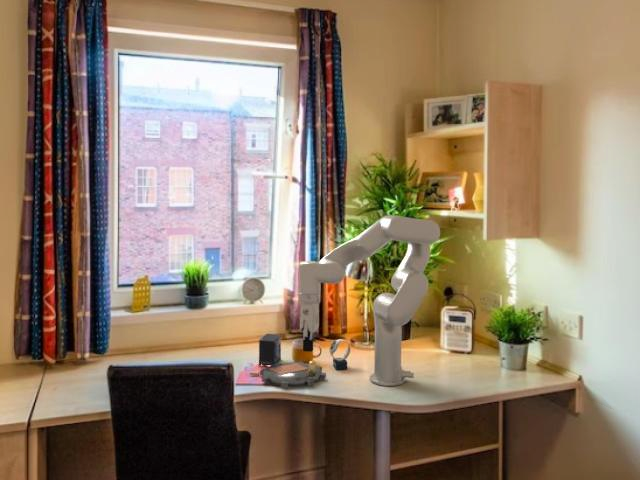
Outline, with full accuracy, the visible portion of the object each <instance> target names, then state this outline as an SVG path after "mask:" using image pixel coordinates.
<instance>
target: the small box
mask: <svg viewBox="0 0 640 480" xmlns="http://www.w3.org/2000/svg"><path fill="white" fill-rule="evenodd" d="M258 342H259V343H258V366H259V365H261V364H262V365H271V366H272V365H273V364H276V363H280V361H281V359H282V356H281V355H282V352H281V351H282V335H281V334H276V333H274V334H273V333H266V334H265V335H263V336H262V337H261V338H260V339H258Z"/></svg>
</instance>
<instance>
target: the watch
mask: <svg viewBox="0 0 640 480" xmlns="http://www.w3.org/2000/svg"><path fill="white" fill-rule="evenodd" d="M342 342H343V343H346V344H347V345H348V346H347V349H346V352H345V353H344V355H343V357H335V356H334V354H335V352H336V351H337V350H338V348H339V344H341V343H342ZM328 350H329V351H328V352H329V354H330V356H331V357H332V367H333V369H334V370H335V371H346V370H348V361H347V358H349V356H350V354H351V346H350V344H349V342H348V341H347V340H345V339H344V338H343V339H342V338H339V339H335V340H334V341H332V342H331V345H330V347H329V349H328Z"/></svg>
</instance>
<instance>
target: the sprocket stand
mask: <svg viewBox="0 0 640 480" xmlns="http://www.w3.org/2000/svg"><path fill="white" fill-rule="evenodd" d="M259 374H260V371H253V370H252V371H250V372H249V376H250V375H259ZM259 376H260V375H259Z"/></svg>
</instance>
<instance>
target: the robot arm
mask: <svg viewBox="0 0 640 480" xmlns="http://www.w3.org/2000/svg"><path fill="white" fill-rule="evenodd" d="M440 235H441V229H440V226H439V224H437V223H436V222H435V221H433V220H430V219H429V220H428V219H419V218H413V217H406V216H402V215H393V214H391V215H390V214H388V215H384V216H382V217H380V218H379V219H378V220H377V221H375V222H374V223H372V224H371V225H370V226H368V228H366V229H364V231H362V232H361V233H360V234H359V235H357V236H356V237H354V238H352V239H350V240H348V241H347V242H344V243H343V244H341V245H339V246H338V247H336V248H334V249H333V250H331V251H330V252H329V253H328V254H326V255H325V256H324V257H322V258H321V259H320V260H319V261H315V260H305V261H301V262H300V263H299V266H298V292H297V293H298V295H297V296H298V299H297V302H298V303H300V313H299V314H300V316H299V332H300V333H302V334H303V335H302V337H303V339H302V351H303V352H309V353H311V352H313V351H314V333H315V332H316V331H317V330H318V329H319V326H320V313H319V311H320V309H319V304H320V303H321V292H322V291H321V290H322V288H321V286H322V285H321V284H329V285H337V284H339V283H341V282H343V280H344V279H345V278H346V267H347V266H348V265H350V264H352V263H355V262H357V261H363V260H366V259H368V258H371V257H372V256H374V255H375V254H377V252H379V251H380V250H381V249H383V248H384V247H385V246H387V245H388V244H389V243H390V242H392V241H396V242H401V243H402V242H403V243H407V250H406V253H405V254H404V257H403V258H402V260H401V262H400V264H399V266H398V267H397V268H396V270H395V272H394V273H393V275H392V277H391V281H390V284H391V285H390V286H391V287H392V289H393V290H394V291H396V293H395V294H394V293H392V292H382V293H380V294H379V295H377V296H376V298H375V299H374V301H373V303H372V304H373V307H372V312H373V313H372V314H373V320H374V372H373V373H372V374H370V376H369V381H370V382H371V383H373V384H375V385H379V386H386V387H394V386H395V387H396V386H400V385H403V384H405V382H406V378H407V379H414V373H415V372H412V371H411V370H404V369H403V366H402V338H403V337H402V335H403V334H402V333H403V332H402V330H403V329H402V326H404V325H406V324H408V323H409V322H410V321H411V319H412V318H413V317H414V315H415V313H416V312H417V311H418V308H419V307H420V305H421V304H422V301H424V298H425V297H426V295H427V292H428V289H429V281H428V278H427V276H426V274H424V272H425V270H426V268H427V266H428V264H429V261H430V257H431V245H433V244H435V243H436V242H438V240H439V238H440Z"/></svg>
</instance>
